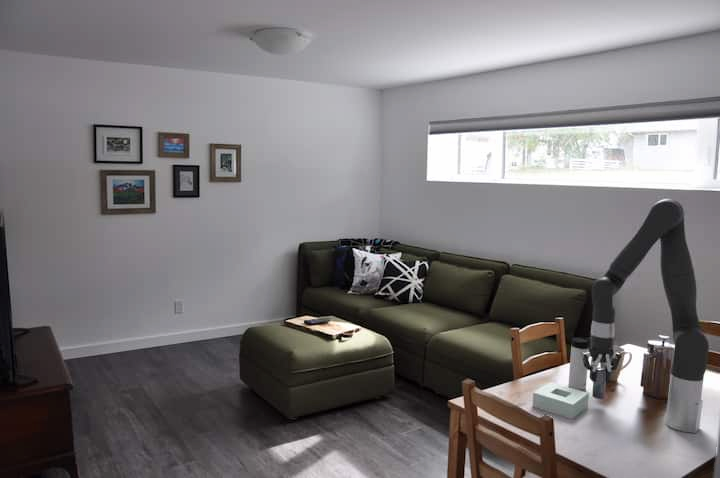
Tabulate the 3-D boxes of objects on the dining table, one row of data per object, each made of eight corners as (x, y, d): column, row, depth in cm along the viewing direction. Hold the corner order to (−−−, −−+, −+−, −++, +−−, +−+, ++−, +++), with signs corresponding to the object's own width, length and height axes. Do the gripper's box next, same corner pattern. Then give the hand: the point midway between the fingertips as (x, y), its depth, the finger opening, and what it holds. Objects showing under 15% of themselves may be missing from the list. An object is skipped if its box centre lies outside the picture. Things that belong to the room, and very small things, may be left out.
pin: (606, 396, 196) (608, 369, 195) (602, 399, 194) (604, 372, 192) (594, 393, 199) (596, 366, 198) (590, 396, 196) (592, 369, 195)
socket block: (587, 406, 196) (588, 393, 195) (571, 418, 186) (573, 404, 185) (549, 395, 205) (550, 382, 205) (532, 406, 195) (533, 392, 194)
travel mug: (589, 392, 209) (593, 340, 207) (571, 391, 209) (575, 340, 207) (582, 385, 215) (587, 335, 213) (565, 385, 215) (569, 335, 213)
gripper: (617, 330, 198) (613, 377, 200) (577, 330, 197) (575, 377, 199) (628, 337, 190) (624, 385, 192) (587, 336, 190) (584, 385, 192)
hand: (599, 380), depth 196 cm, fingers closed on pin, 4 cm apart
